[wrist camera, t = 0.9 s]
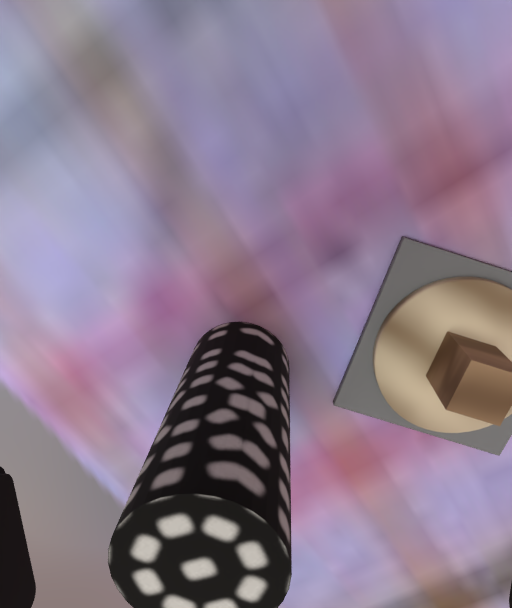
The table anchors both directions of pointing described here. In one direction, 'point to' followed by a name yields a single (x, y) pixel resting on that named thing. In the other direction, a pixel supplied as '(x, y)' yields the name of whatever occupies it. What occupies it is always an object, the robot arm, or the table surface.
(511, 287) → the mat
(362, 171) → the table surface
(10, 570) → the robot arm
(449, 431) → the lid
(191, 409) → the polka dot cylinder
